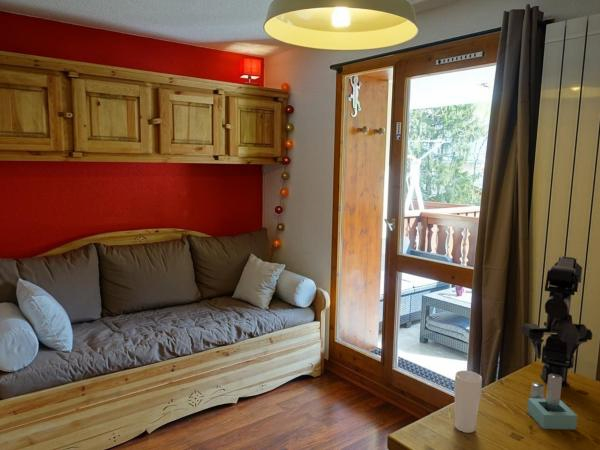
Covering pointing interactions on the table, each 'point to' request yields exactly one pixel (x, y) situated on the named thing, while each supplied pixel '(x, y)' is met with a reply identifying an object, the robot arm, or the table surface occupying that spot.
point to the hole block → (551, 415)
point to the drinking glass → (467, 400)
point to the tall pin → (553, 393)
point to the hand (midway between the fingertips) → (553, 358)
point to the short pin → (537, 391)
